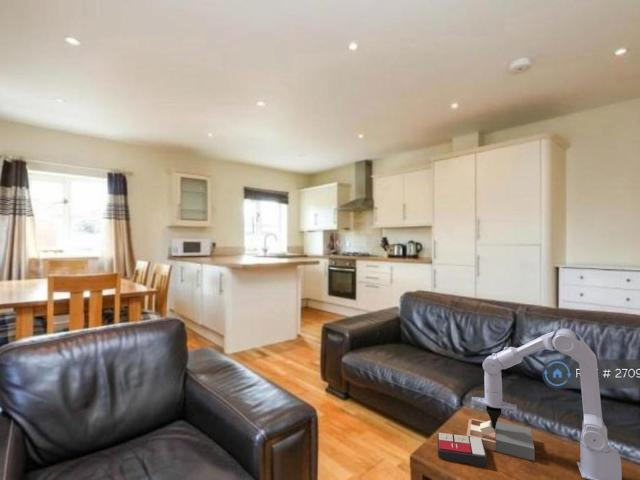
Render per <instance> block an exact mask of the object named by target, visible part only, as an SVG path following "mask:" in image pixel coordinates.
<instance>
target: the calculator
mask: <svg viewBox="0 0 640 480" xmlns="http://www.w3.org/2000/svg"><path fill="white" fill-rule="evenodd" d="M437 458H438V459H440V460H443V461H444V460H445V461H450V462H456V463H462V464H467V465H473V466H477V467H482V468H486V469H487V468H488V456H487V452H486V449H485V447H484V443H483V440H482V439H481V438H474V437H468V436H467V435H461V434H452V433H444V432H438V433H437Z"/></svg>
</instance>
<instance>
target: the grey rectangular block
mask: <svg viewBox="0 0 640 480" xmlns="http://www.w3.org/2000/svg"><path fill="white" fill-rule="evenodd" d="M495 438H496V451H495V452H498V453H501V454H505V455H509V456H513V457H516V458H521V459H525V460H530V461H534V462H535V461H536V460H535V459H536V457H535V456H536V455H535V454H536V452H535V445H534V444H535V443H534V441H533V435H532V430H531V427H526V426H521V425H517V424H512V423H507V422H503V421H502V422H501V421H498V420H497V423H496V428H495Z"/></svg>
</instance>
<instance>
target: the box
mask: <svg viewBox="0 0 640 480" xmlns="http://www.w3.org/2000/svg"><path fill="white" fill-rule="evenodd" d="M484 422H487V421H485V420H481V419H476V418H471V417H468V422H467V423H468V424H467V428H466V429H467V431H466V436H468V437H474V438H481V437H476V436H472V435H471V432H470V429H471V424H472V425H476V426H480V424H481V423H484ZM481 439H482V440H483V443H484V447H485V450H490V451H493V452H496V432H495V433H491V434H488V435H485V436H484V435H483V438H481Z"/></svg>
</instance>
